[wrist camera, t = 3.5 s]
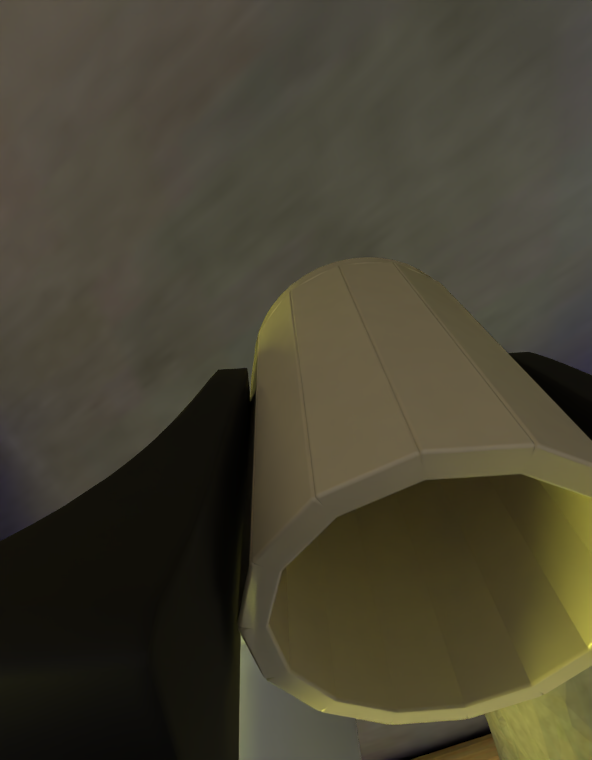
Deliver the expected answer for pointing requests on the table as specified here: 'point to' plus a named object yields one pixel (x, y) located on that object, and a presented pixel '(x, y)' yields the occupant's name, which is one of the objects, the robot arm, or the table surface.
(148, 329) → the table surface
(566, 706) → the stone
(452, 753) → the hammer
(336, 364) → the cup
